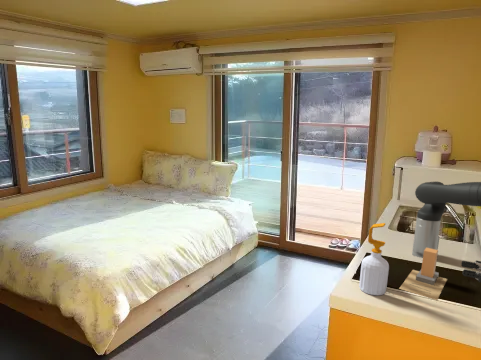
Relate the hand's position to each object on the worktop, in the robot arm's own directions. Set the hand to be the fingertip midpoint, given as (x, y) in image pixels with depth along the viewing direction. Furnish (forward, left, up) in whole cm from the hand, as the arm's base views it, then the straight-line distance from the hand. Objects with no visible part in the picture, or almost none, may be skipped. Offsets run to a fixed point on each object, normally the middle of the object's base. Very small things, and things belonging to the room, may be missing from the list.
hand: (462, 267), depth 131 cm
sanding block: (+7, -8, -7) cm, 13 cm away
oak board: (+11, -5, -8) cm, 15 cm away
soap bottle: (+30, -10, -9) cm, 33 cm away
